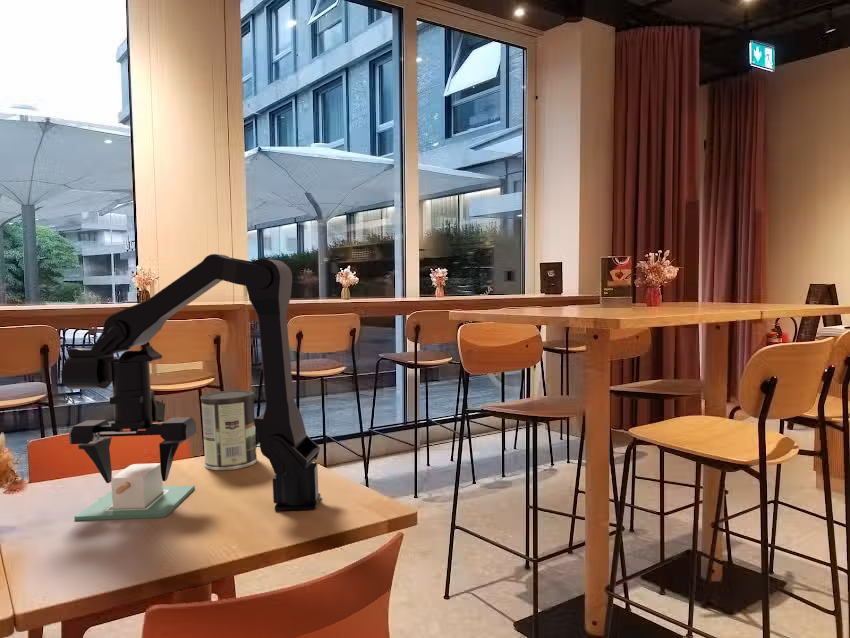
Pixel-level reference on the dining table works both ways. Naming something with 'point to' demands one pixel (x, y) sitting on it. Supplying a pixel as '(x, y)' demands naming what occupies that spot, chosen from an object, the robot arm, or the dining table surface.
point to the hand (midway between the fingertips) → (137, 481)
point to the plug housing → (136, 486)
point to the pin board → (153, 510)
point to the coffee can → (229, 429)
